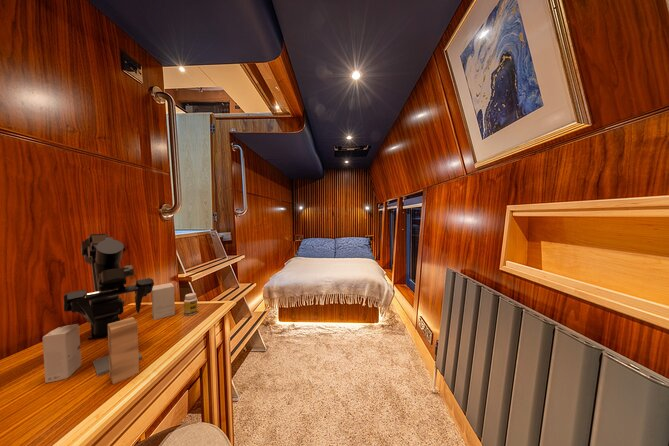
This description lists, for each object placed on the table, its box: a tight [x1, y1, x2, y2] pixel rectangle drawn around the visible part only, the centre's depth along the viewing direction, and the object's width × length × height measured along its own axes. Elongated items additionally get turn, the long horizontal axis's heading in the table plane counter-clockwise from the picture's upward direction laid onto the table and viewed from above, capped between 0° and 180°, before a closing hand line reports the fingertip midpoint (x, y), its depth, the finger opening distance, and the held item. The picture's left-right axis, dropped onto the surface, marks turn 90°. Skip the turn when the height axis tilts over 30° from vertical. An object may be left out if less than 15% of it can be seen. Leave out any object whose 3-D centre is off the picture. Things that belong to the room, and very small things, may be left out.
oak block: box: [107, 316, 140, 385], centre depth 58 cm, size 5×5×14 cm
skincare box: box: [42, 323, 82, 384], centre depth 59 cm, size 6×4×12 cm
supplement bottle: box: [183, 292, 198, 317], centre depth 95 cm, size 5×5×8 cm
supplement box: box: [151, 282, 176, 321], centre depth 94 cm, size 7×7×13 cm
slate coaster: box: [92, 350, 143, 378], centre depth 64 cm, size 9×9×1 cm
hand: (117, 317), depth 63 cm, fingers open, 9 cm apart
